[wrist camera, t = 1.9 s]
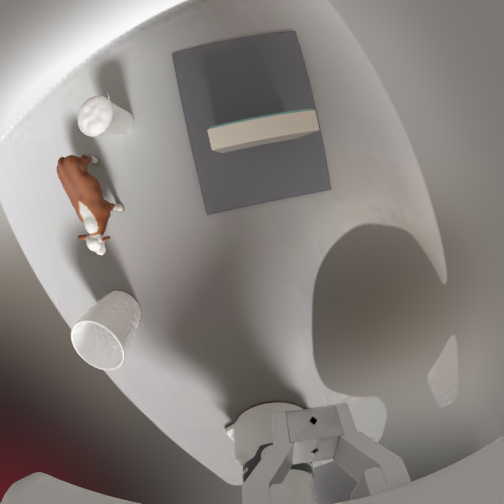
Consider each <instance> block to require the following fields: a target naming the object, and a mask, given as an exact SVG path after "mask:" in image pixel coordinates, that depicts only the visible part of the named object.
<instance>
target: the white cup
mask: <svg viewBox="0 0 504 504" xmlns="http://www.w3.org/2000/svg"><path fill="white" fill-rule="evenodd" d="M140 321H141V309H140V307H139V304H138V302H137V301H136V300H135V299H134V298H133V297H132V296H131V295H129V294H127V293H125V292H123V291H112V292H110V293H108V294H106V295H105V296H104V297H103V298H102V299H101V300H100V301H98V302H97V303H96V304H95V305H94V306H93V307H92V308H91V309H90V310H89V311H88V312H87V313H86V314H85V315H84V316H83V317H82V318H81V319H80V320H79V321H78V322H77V323H76V324H75V325H74V326H73V328H72V331H71V340H72V343H73V346H74V348H75V350H76V351H77V353H78V354H79V355H80V356H81V357H82V358H83V359H84V360H85V361H86V362H87V363H89V364H90V365H92V366H94V367H96V368H99V369H102V370H114V369H117V368H118V367H120V366H121V365H122V363H123V361H124V358H125V356H126V354H127V352H128V349H129V347H130V345H131V343H132V340H133V337H134V335H135V333H136V330H137V327H138V325H139V323H140Z"/></svg>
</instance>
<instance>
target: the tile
mask: <svg viewBox="0 0 504 504" xmlns="http://www.w3.org/2000/svg"><path fill="white" fill-rule="evenodd" d="M207 131H208V135H209V140H210V144H211V149H212V151H216V152H219V153H225V152H230V151H234V150H239V149H244V148H249V147H253V146H258V145H264V144H269V143H274V142H280V141H286V140H292V139H296V138H299V137H301V136H304V135H307V134H310V133H313V132H316V131H319V125H318V121H317V116H316V112H315V110H312V108H309V109H302V110H295V111H288V112H281V113H275V114H269V115H264V116H258V117H253V118H248V119H243V120H238V121H233V122H229V123H224V124H220V125H216V126H211V127H210V129H208V130H207Z"/></svg>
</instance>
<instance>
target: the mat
mask: <svg viewBox="0 0 504 504" xmlns="http://www.w3.org/2000/svg"><path fill="white" fill-rule="evenodd" d="M172 56H173V61H174V66H175V72H176V77H177V82H178V87H179V91H180V96H181V101H182V106H183V111H184V115H185V120H186V125H187V129H188V134H189V138H190V143H191V147H192V152H193V156H194V160H195V165H196V169H197V173H198V178H199V182H200V186H201V190H202V194H203V199H204V203H205V207H206V211H207V215H209V214H213V213H218V212H222V211H227V210H231V209H236V208H240V207H245V206H250V205H254V204H259V203H264V202H269V201H274V200H279V199H284V198H289V197H294V196H299V195H304V194H310V193H315V192H320V191H326V190H331V185H330V179H329V173H328V167H327V162H326V156H325V151H324V146H323V141H322V136H321V131H320V126H319V131H316V132H313V133H310V134H307V135H304V136H301V137H299V138H296V139H292V140H286V141H280V142H274V143H269V144H264V145H258V146H253V147H249V148H244V149H239V150H234V151H230V152H225V153H219V152H216V151H212V149H211V144H210V140H209V135H208V131H207V130H208V129H210V127H211V126H216V125H220V124H224V123H229V122H233V121H238V120H243V119H248V118H253V117H258V116H264V115H269V114H275V113H281V112H288V111H295V110H302V109H309V108H312V110H315V112H316V108H315V103H314V99H313V95H312V91H311V87H310V83H309V79H308V75H307V71H306V67H305V64H304V60H303V56H302V53H301V49H300V46H299V42H298V39H297V36H296V32H295V31H292V32H281V33H272V34H264V35H257V36H250V37H244V38H238V39H233V40H228V41H223V42H218V43H213V44H209V45H205V46H201V47H197V48H193V49H189V50H185V51H182V52H178V53H175V54H172ZM316 116H317V112H316ZM317 121H318V117H317ZM318 125H319V121H318Z"/></svg>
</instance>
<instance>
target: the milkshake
mask: <svg viewBox="0 0 504 504" xmlns="http://www.w3.org/2000/svg"><path fill="white" fill-rule="evenodd" d="M107 96H108V99H107V98H106V97H104V96H95V97H92V98H90V99H88V100H87V101H86V102H85V103H84V104H83V105H82V106H81V108H80V110H79V112H78V126H79V128H80V130H81V131H82V132H83V133H84V134H85V135H87V136H101V135H115V134H126V133H127V132H128V131H129V130H130V129H131V128H132V125H133V122H134V120H133V117H132V114H131V113H129V112H127V111H126V110H124V109H122V108H121V107H119V106H117V105H116V104H115V103H113V102H112V101H110V97H109V93H108V92H107Z"/></svg>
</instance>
